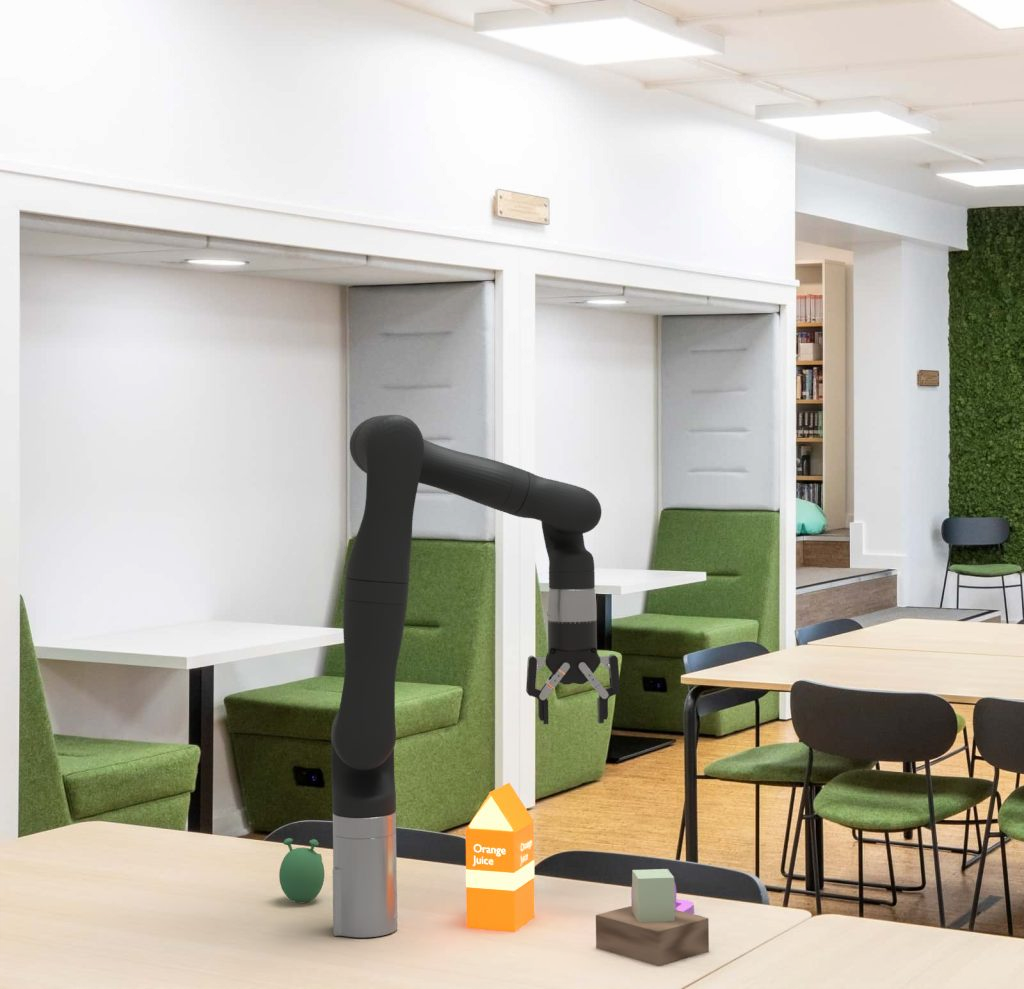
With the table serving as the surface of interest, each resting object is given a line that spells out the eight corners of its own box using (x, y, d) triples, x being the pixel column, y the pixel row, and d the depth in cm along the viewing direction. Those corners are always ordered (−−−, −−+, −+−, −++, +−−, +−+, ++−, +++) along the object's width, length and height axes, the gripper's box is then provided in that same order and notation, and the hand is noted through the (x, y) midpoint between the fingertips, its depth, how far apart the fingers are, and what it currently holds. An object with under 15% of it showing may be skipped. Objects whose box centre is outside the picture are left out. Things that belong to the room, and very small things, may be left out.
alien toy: (329, 895, 257) (329, 832, 257) (319, 908, 250) (318, 843, 250) (286, 895, 258) (285, 832, 258) (274, 907, 250) (274, 842, 250)
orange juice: (465, 927, 237) (464, 791, 237) (487, 912, 246) (485, 781, 246) (515, 932, 235) (514, 794, 235) (536, 916, 243) (534, 783, 243)
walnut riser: (658, 968, 217) (658, 931, 217) (596, 950, 226) (595, 914, 226) (708, 954, 224) (708, 918, 224) (646, 937, 233) (645, 902, 233)
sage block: (638, 922, 222) (638, 878, 222) (632, 912, 227) (632, 870, 227) (674, 921, 222) (674, 877, 222) (667, 911, 227) (667, 869, 227)
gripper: (528, 620, 245) (529, 728, 245) (621, 619, 246) (622, 725, 246) (523, 616, 252) (525, 721, 252) (614, 615, 253) (615, 719, 253)
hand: (573, 723), depth 249 cm, fingers open, 8 cm apart
